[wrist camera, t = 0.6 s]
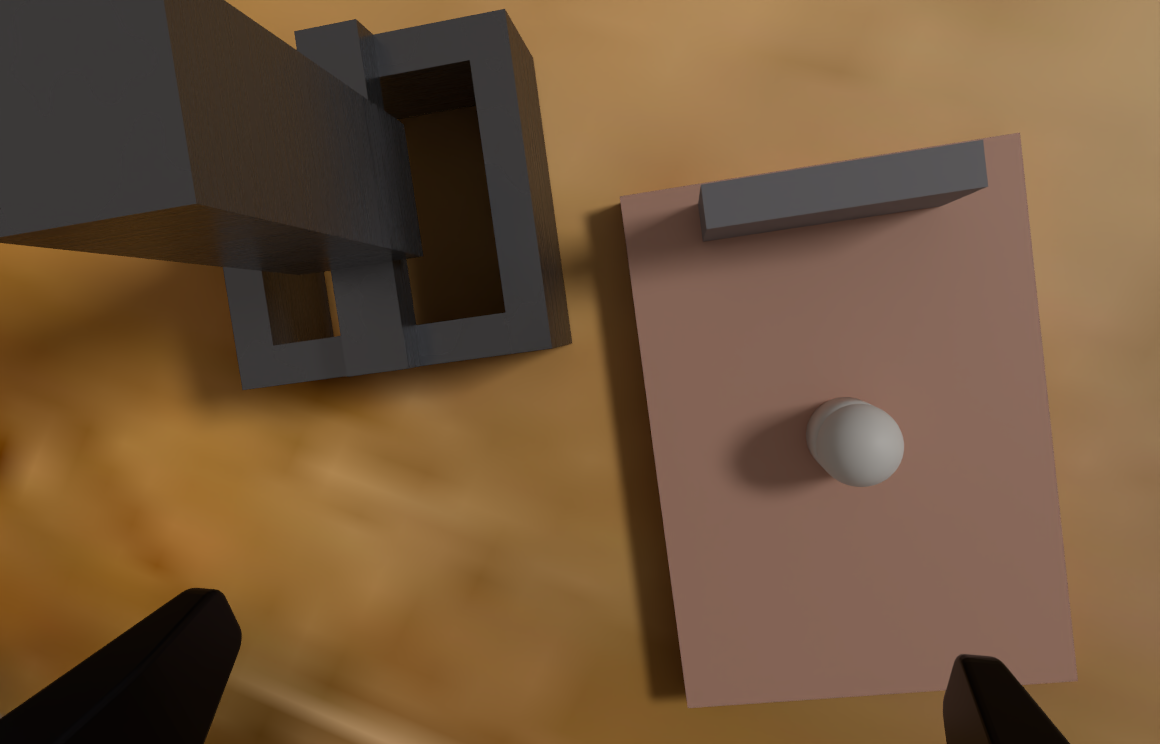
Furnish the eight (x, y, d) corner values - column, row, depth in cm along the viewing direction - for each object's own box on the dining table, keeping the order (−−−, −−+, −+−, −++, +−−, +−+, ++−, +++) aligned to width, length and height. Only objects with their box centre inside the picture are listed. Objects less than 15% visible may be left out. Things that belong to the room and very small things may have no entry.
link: (572, 343, 22) (423, 380, 9) (307, 379, 23) (-153, 456, 10) (532, 57, 22) (319, -315, 9) (265, 107, 23) (-270, -161, 10)
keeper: (1059, 663, 21) (1146, 743, 17) (687, 690, 22) (688, 770, 19) (1003, 141, 20) (1080, 99, 16) (622, 202, 22) (609, 176, 18)
